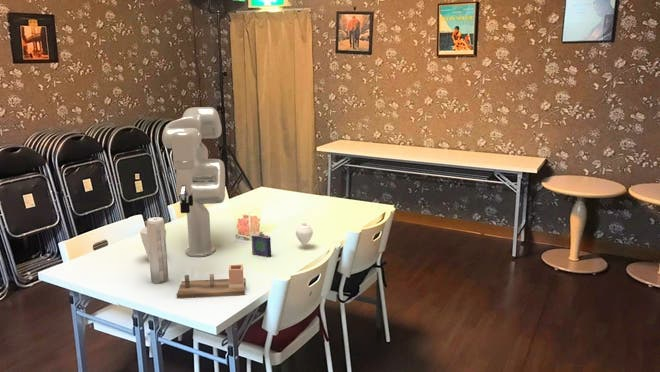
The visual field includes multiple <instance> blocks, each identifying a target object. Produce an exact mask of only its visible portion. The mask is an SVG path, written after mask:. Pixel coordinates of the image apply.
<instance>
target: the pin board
mask: <svg viewBox="0 0 660 372" xmlns="http://www.w3.org/2000/svg"><path fill="white" fill-rule="evenodd" d="M246 281H247V280H246V277H244V287H243V288H229V278H221V279H220V278H219V279H215V274H214V273H210V274H209V279H198V280H196V279H195V280H194V279H193V280H190V275H189V274H185V275H184V280H181V281H180V284H179V288H178V290H177V293H176V299H190V298H191V299H192V298H194V299H195V298H207V297H208V298H212V297H214V298H215V297H229V296H232V297H233V296H244V295H246V293H245V292H246Z"/></svg>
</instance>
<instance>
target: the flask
mask: <svg viewBox="0 0 660 372" xmlns="http://www.w3.org/2000/svg"><path fill="white" fill-rule="evenodd" d="M263 232H264V231H260V232H258V234H255V233H254V234H251V254H252V255H253V256H257V257H263V258H264V257H265V258H271V257H272V247H271V243H272V241H271V240H272V239H271V236H270V235H265V233H263Z"/></svg>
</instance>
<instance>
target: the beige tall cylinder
mask: <svg viewBox="0 0 660 372" xmlns="http://www.w3.org/2000/svg"><path fill="white" fill-rule="evenodd" d="M146 227H147V237H148V249H149V261H148V262H149V271H150V281H151V283H152V284H155V285H160V284H165V283H167V282H168V281H169V279H170V278H169V276H170V275H169V263H168V251H167V239H166V237H167V235H166V236H165V227H166V226H165V220H164V218H163V217H161V216H156V217H149V218H148V219H147V221H146Z"/></svg>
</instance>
